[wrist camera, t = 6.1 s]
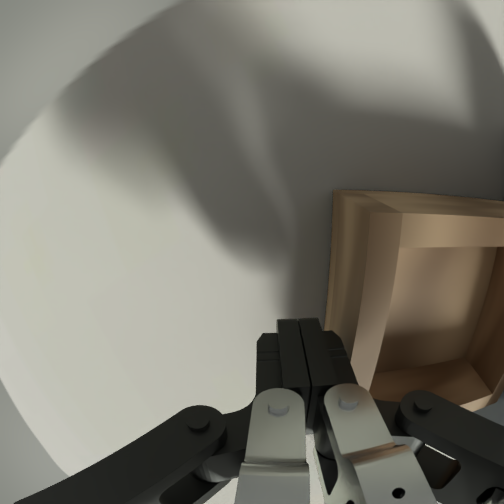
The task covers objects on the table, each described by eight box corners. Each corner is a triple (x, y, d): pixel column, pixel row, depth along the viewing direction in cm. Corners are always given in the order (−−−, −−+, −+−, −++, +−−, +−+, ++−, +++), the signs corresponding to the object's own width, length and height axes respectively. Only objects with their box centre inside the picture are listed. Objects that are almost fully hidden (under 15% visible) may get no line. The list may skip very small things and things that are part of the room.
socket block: (503, 201, 11) (561, 223, 7) (463, 357, 15) (496, 402, 10) (332, 189, 12) (369, 212, 7) (317, 379, 15) (330, 444, 11)
